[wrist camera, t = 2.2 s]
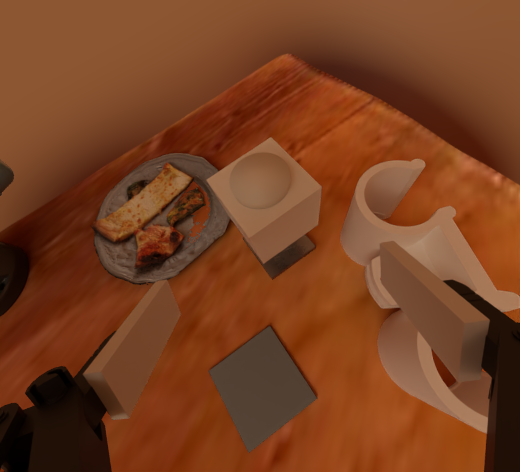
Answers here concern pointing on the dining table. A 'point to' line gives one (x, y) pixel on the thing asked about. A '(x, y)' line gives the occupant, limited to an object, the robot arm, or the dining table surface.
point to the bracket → (434, 259)
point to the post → (286, 256)
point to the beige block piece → (268, 198)
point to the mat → (261, 387)
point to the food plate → (157, 219)
